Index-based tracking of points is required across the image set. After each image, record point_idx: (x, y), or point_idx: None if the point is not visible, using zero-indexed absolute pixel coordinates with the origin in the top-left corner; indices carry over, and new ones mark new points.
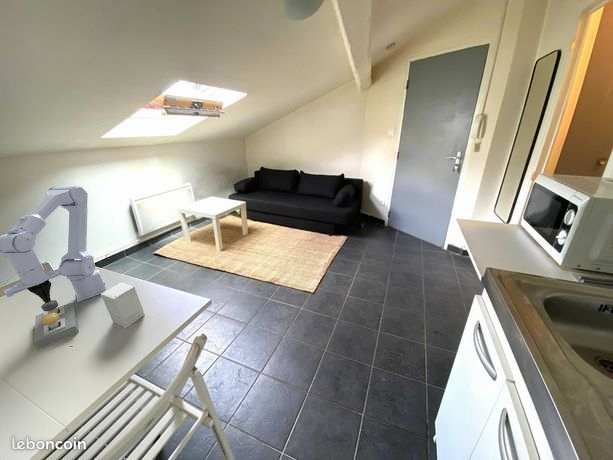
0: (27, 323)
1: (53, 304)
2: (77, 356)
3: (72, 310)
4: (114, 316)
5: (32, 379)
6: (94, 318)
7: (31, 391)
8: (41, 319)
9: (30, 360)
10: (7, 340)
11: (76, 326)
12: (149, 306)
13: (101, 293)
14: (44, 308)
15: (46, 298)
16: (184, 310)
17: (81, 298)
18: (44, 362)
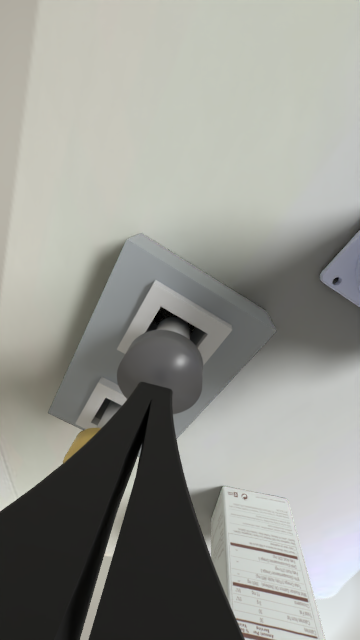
0: (110, 171)
1: None
2: None
3: (217, 391)
4: (216, 545)
5: (26, 452)
6: (225, 431)
7: (17, 471)
8: (67, 457)
9: (40, 403)
10: (16, 222)
11: None
12: (307, 525)
13: None
14: (122, 389)
15: (133, 466)
16: None
17: (350, 275)
18: (58, 438)
